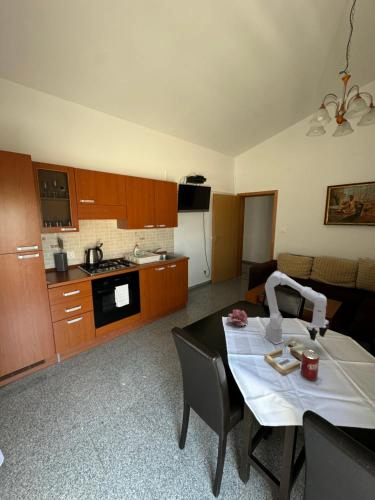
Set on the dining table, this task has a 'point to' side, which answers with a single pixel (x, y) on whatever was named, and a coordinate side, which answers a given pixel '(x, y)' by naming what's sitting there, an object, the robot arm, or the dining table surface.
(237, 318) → the flower
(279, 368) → the bay
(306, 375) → the soda can
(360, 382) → the dining table surface
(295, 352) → the open box
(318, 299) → the robot arm
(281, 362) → the dock strip
